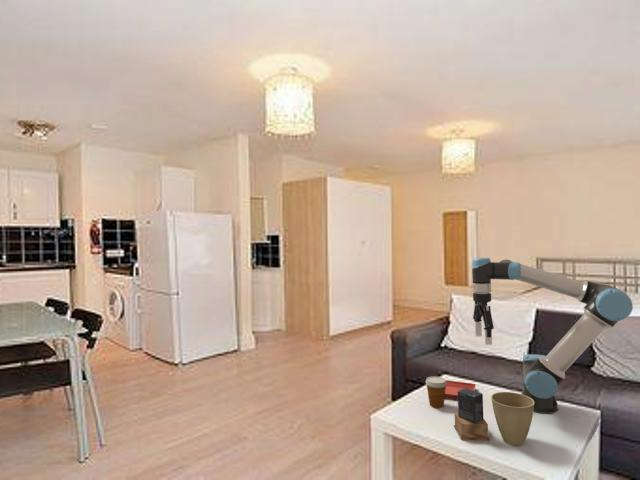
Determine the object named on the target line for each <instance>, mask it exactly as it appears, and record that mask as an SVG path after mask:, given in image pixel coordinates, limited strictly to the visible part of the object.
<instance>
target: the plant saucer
mask: <svg viewBox="0 0 640 480" xmlns="http://www.w3.org/2000/svg"><path fill="white" fill-rule="evenodd" d="M445 380H446V379H445ZM446 382H447V384H446V389H445V399H451V400H457V401H458V391H459V390H462V389H465V388H468V389H471V390H474V391H476V386H477V384H475V383H471V382H462V381H454V380H448V379H447V380H446Z"/></svg>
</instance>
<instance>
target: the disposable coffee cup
mask: <svg viewBox="0 0 640 480" xmlns="http://www.w3.org/2000/svg"><path fill="white" fill-rule="evenodd" d="M425 384H426V388H427V389H426V390H427V394H428V395H427V396H428V401H429V402H428V403H429V406H430V407H431V408H433V409H441V408H444V406H445V399H446V398H445V389H446V384H447V382H446V378H444V377H441V376H428V377H427V378H426V380H425Z"/></svg>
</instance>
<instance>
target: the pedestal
mask: <svg viewBox="0 0 640 480" xmlns="http://www.w3.org/2000/svg"><path fill="white" fill-rule="evenodd" d="M453 428H454V430H455V431H456V433H457V436H458V437H459V439H460V440H461V441H490V437H489V423H488V422H487V421H486V420H485V418H484V417H483V420H482V421H480V422H478V423H473V422H470V421H468V420H465V419H463V418H461V417H459V416H458V412H454V425H453Z"/></svg>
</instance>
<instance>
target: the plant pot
mask: <svg viewBox="0 0 640 480" xmlns="http://www.w3.org/2000/svg"><path fill="white" fill-rule="evenodd" d="M490 399H491V406H492V410H493V414H494V417H495V421H496V424H497V428H498V429H499V433H500V436H501V438H502V441H503V442H504V443H506V444H508V445H512V446H523V445H524V444H525V442H526V439H528V434H529V432H530V428H531V424H532V421H533V418H534V417H533V416H534V412H533V410H534V400H533V399H531V398H530V397H528V396H525V395H522V393H517V392H511V391H499V392H495V393H493V394H491V397H490Z"/></svg>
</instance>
